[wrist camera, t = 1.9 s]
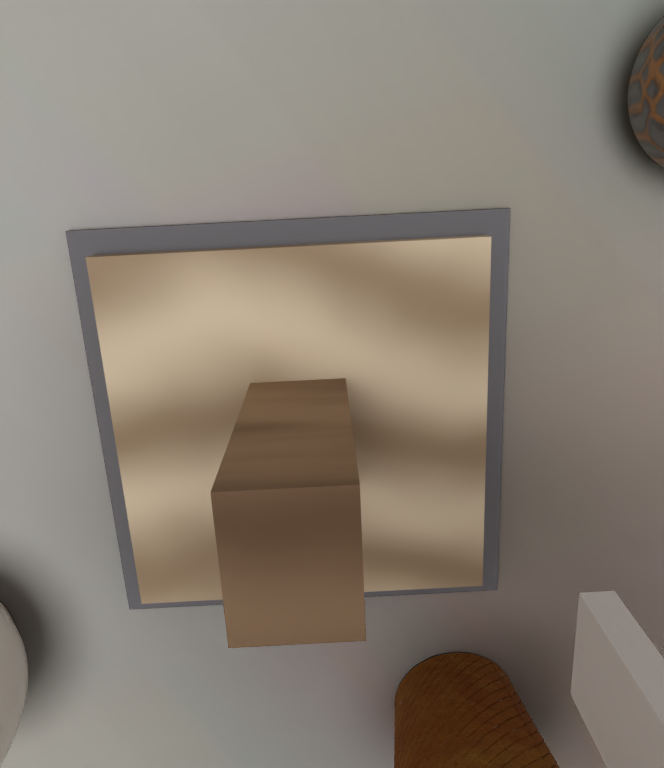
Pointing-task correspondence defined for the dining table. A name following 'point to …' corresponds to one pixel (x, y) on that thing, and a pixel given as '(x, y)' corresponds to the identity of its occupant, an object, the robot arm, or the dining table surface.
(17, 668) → the lidded jar
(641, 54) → the vase
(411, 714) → the disposable coffee cup
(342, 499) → the oak lid
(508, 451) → the dining table surface
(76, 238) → the rubber mat
